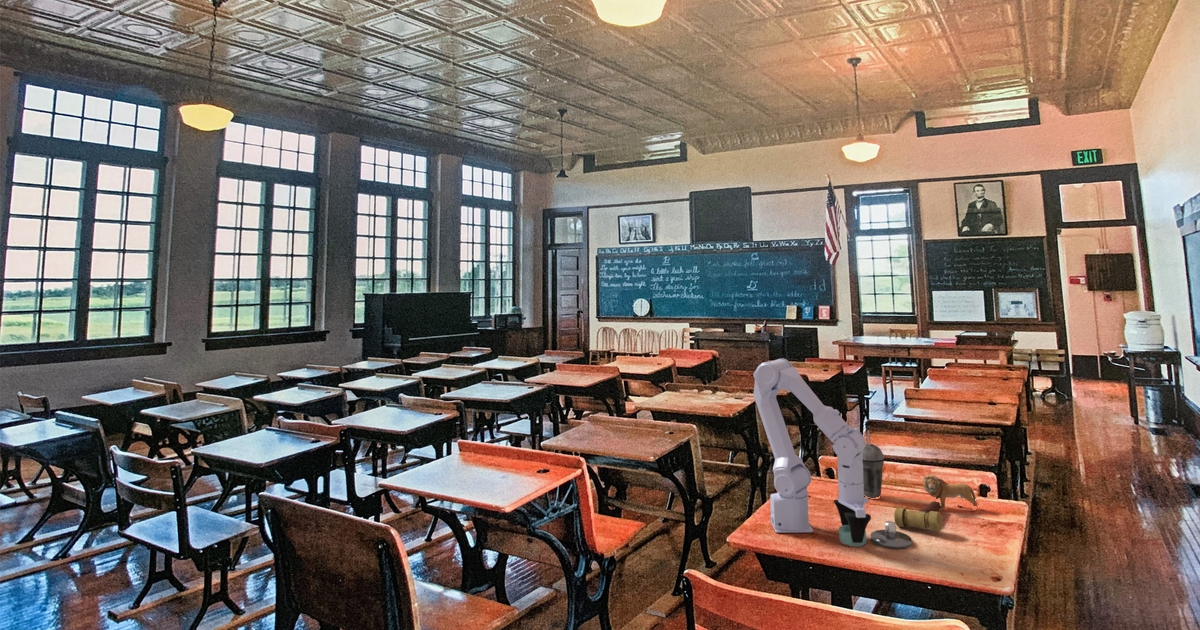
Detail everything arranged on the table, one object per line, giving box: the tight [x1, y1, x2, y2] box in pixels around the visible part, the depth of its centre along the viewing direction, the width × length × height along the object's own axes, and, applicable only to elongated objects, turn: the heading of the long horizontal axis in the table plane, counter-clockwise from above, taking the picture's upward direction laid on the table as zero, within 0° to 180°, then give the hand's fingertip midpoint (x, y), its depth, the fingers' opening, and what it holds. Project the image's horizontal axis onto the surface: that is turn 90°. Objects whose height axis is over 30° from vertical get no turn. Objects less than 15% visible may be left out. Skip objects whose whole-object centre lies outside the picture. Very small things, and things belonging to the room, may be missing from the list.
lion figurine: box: [922, 474, 978, 510], centre depth 164 cm, size 15×5×9 cm, turn 87°
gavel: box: [893, 500, 943, 532], centre depth 157 cm, size 21×5×10 cm
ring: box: [838, 525, 867, 547], centre depth 147 cm, size 6×6×3 cm
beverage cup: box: [859, 429, 885, 498], centre depth 176 cm, size 7×7×20 cm
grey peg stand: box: [870, 520, 913, 550], centre depth 146 cm, size 9×9×4 cm
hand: (852, 535), depth 147 cm, fingers open, 7 cm apart
